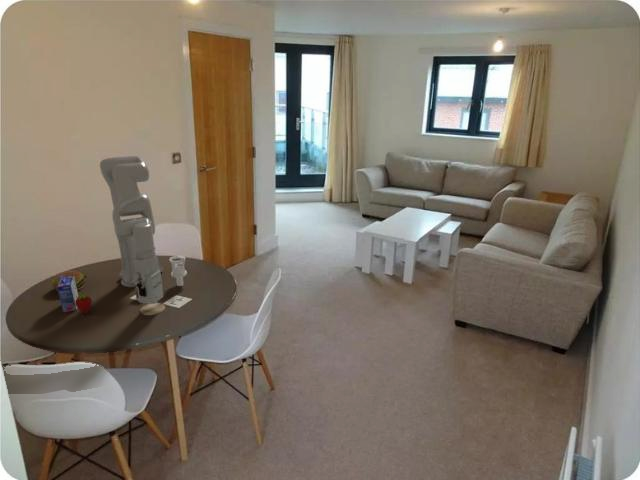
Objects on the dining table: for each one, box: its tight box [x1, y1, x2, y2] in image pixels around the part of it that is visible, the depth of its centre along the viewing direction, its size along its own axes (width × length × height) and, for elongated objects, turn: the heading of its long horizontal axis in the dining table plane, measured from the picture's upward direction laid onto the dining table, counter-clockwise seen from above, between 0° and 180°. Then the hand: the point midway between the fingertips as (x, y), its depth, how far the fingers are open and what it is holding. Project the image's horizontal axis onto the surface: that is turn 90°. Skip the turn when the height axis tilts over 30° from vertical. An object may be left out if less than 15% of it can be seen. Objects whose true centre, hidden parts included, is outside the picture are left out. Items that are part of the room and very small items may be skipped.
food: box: [51, 270, 87, 292], centre depth 203 cm, size 14×14×8 cm
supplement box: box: [137, 270, 164, 304], centre depth 183 cm, size 7×7×13 cm
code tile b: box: [129, 294, 139, 302], centre depth 198 cm, size 9×9×1 cm
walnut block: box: [134, 287, 139, 298], centre depth 197 cm, size 5×5×5 cm
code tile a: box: [162, 294, 193, 309], centre depth 194 cm, size 9×9×1 cm
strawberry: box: [75, 292, 92, 314], centre depth 181 cm, size 6×8×10 cm
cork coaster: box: [139, 302, 166, 316], centre depth 187 cm, size 10×10×1 cm
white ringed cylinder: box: [169, 255, 188, 287], centre depth 207 cm, size 7×7×15 cm
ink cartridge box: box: [57, 275, 79, 313], centre depth 186 cm, size 10×6×14 cm, turn 22°
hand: (150, 291), depth 183 cm, fingers closed on supplement box, 8 cm apart
